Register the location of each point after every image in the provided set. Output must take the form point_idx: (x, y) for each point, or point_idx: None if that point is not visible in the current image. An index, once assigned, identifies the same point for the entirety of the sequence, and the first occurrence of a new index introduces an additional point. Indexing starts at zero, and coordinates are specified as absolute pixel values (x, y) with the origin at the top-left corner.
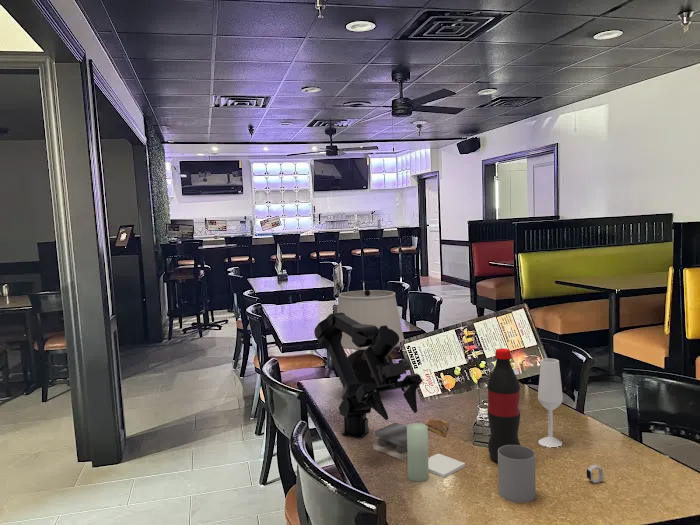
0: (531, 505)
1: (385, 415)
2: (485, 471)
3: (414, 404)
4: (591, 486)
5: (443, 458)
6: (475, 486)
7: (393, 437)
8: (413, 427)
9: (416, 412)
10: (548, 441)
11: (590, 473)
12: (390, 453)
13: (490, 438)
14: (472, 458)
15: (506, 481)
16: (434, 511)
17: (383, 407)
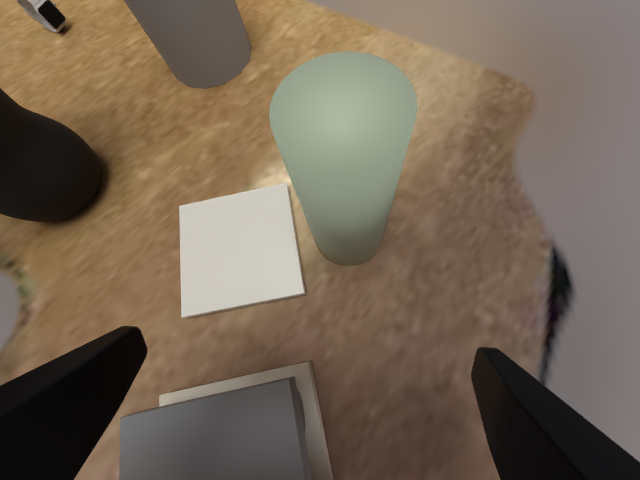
0: None
1: (524, 371)
2: (170, 160)
3: (63, 371)
4: (82, 21)
5: (200, 271)
6: (256, 115)
7: (302, 472)
8: (371, 106)
9: (134, 337)
10: None
11: (51, 3)
12: (327, 452)
13: (26, 171)
14: (124, 239)
15: (234, 2)
16: (426, 75)
17: (597, 469)
